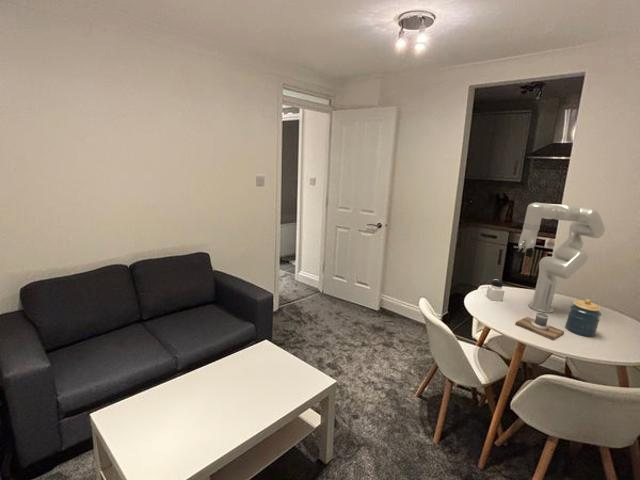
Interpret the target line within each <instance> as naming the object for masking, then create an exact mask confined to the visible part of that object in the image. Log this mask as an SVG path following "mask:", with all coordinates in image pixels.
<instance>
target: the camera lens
mask: <svg viewBox="0 0 640 480" xmlns="http://www.w3.org/2000/svg"><path fill="white" fill-rule="evenodd" d="M535 316H536V317H535V319H534V320H535V323H536V324H537V325H540V326H546V324H548V319H549V315H548V314H547V313H544V312H537V313H536V315H535Z"/></svg>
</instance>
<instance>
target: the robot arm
mask: <svg viewBox="0 0 640 480" xmlns="http://www.w3.org/2000/svg"><path fill="white" fill-rule="evenodd" d="M542 219H546V220H552V219H553V220H557V221H566V222H567V221H568V222H571V223H570V225H569V228H568V229H569V231H568V237H567V239H566V240H565V241H564V242H563V243H562V244H561V245H560V246H559V247H558V248H556V250H554V253H553V256H549V255H548V256H544V257H542V258H541V259H540V260H539V263H538V275H537V276H538V277H537V280H536V285H535V289H534V294H533V298H532V302H529V303H528V307H529V308H531V309H532V310H534V311H537V312H539V313H543V314H552V313H553V312H554V308H552V304H553V300H554V297H555V292H556V287H557V285H558V284H557V283H558V279H557V277H558V278H561V279H564V280H566V279H567V280H568V279H570V278H572V277H573V276H574V275H575V274H576V273H577V272H578V271H580V270H581V269H582V267H583V268H584V266H585V265H586V263H587V261H588V257H589V255H588V253H587V252H586V251H585V250H583V246H584V241H583V238H582V236H584V237H587V238H588V237H589V238H592V239H599V238H602V237H603V236H604V234H605V231H606V228H605V225H604V221H603V220H602V217H601V215H600V213H599V212H598V211H597V210H596V209H594V208H590V207H585V206H576V205H567V204H557V203H556V204H553V203H546V202H545V203H543V202H533V203H529V204H528V205H527V208H526V212H525V218H524V222H523V226H522V231H521V233H520V237H519V240H518V245H517V246H518V251H517V252H518V253H517V256H516V258H517V259H520V260H524V258H525V256H526V257H527V258H532V257H533V254H534V251H535V247H536V244H537V239H538V238H537V237H538V233H539V231H540V229H541V228H540V227H541V223H542Z"/></svg>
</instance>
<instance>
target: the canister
mask: <svg viewBox="0 0 640 480" xmlns="http://www.w3.org/2000/svg"><path fill="white" fill-rule="evenodd" d="M569 307H570V310H569V311H568V315H567V318H566V322H565V329H567V330H568V331H569V332H571V333H574V334H576V335H579V336H583V337H588V338H589V337H594V336H596V334H597V329H598V326H599V322H600V317H601V315H602V312H600V311H601V307H599V306H598V305H597V304H596V303H593V302H592V300H591V299H588V298H587V299H586V298H585V300H581V299H580V300H575V301H573V304H571V305H570V306H569Z"/></svg>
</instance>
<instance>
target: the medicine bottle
mask: <svg viewBox="0 0 640 480" xmlns="http://www.w3.org/2000/svg"><path fill="white" fill-rule="evenodd" d="M503 285H504V282H503V281H502V280H500V279H492V280H491V284H490V285H487V289H486V294H485V296H486V297H487V298H488V299H489V300H490V301H493V302H495V301H496V302H503V299H504V295H505V289H504V288H503Z"/></svg>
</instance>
